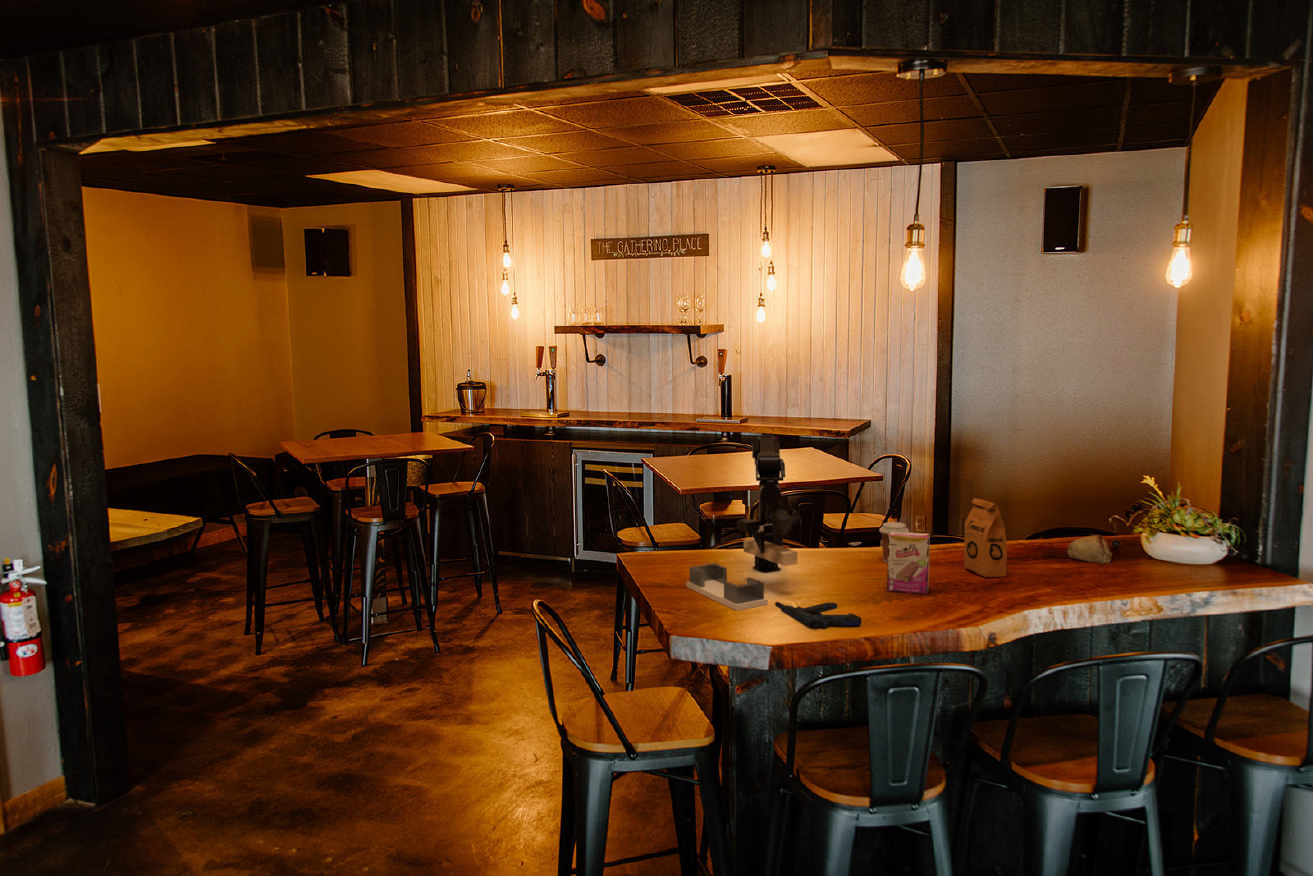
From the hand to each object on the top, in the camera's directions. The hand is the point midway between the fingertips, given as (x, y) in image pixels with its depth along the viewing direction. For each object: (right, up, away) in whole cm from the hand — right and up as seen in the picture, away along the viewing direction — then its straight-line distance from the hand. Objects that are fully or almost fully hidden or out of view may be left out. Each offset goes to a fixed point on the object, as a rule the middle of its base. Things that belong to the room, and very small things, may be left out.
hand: (769, 552), depth 251 cm
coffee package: (+67, -8, +12) cm, 68 cm away
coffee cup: (+43, -7, +28) cm, 52 cm away
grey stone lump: (+105, -6, +27) cm, 109 cm away
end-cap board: (-13, -11, -6) cm, 18 cm away
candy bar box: (+38, -10, -5) cm, 40 cm away
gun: (+10, -14, -25) cm, 30 cm away
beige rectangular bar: (0, -1, 0) cm, 1 cm away
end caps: (-13, -10, -6) cm, 17 cm away
